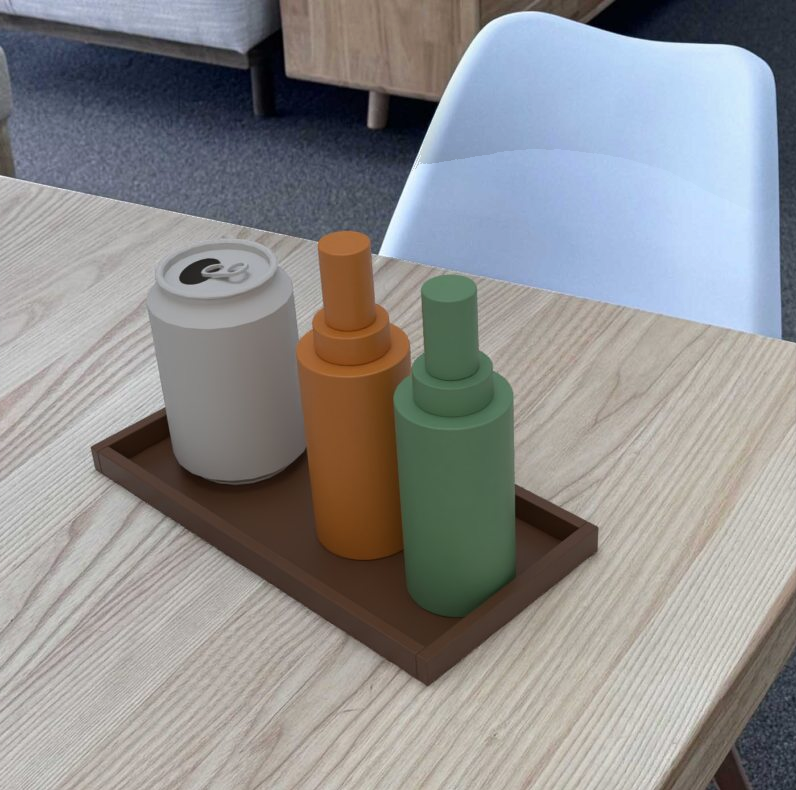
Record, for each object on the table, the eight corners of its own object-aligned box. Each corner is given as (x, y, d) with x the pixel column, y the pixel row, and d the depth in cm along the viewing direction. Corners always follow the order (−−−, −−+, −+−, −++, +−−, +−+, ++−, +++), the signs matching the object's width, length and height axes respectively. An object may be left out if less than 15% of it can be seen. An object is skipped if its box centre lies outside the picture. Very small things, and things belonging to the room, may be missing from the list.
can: (215, 405, 82) (186, 221, 75) (333, 426, 80) (313, 239, 73) (150, 480, 76) (112, 287, 69) (275, 504, 74) (249, 308, 67)
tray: (97, 480, 77) (89, 446, 76) (268, 385, 85) (264, 353, 84) (428, 698, 63) (426, 661, 62) (597, 561, 71) (598, 526, 70)
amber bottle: (294, 530, 72) (258, 245, 63) (369, 482, 76) (346, 205, 66) (367, 575, 69) (341, 283, 60) (442, 522, 73) (428, 238, 63)
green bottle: (383, 585, 69) (359, 291, 59) (458, 531, 72) (446, 245, 63) (464, 634, 66) (452, 333, 57) (538, 576, 69) (538, 283, 60)
